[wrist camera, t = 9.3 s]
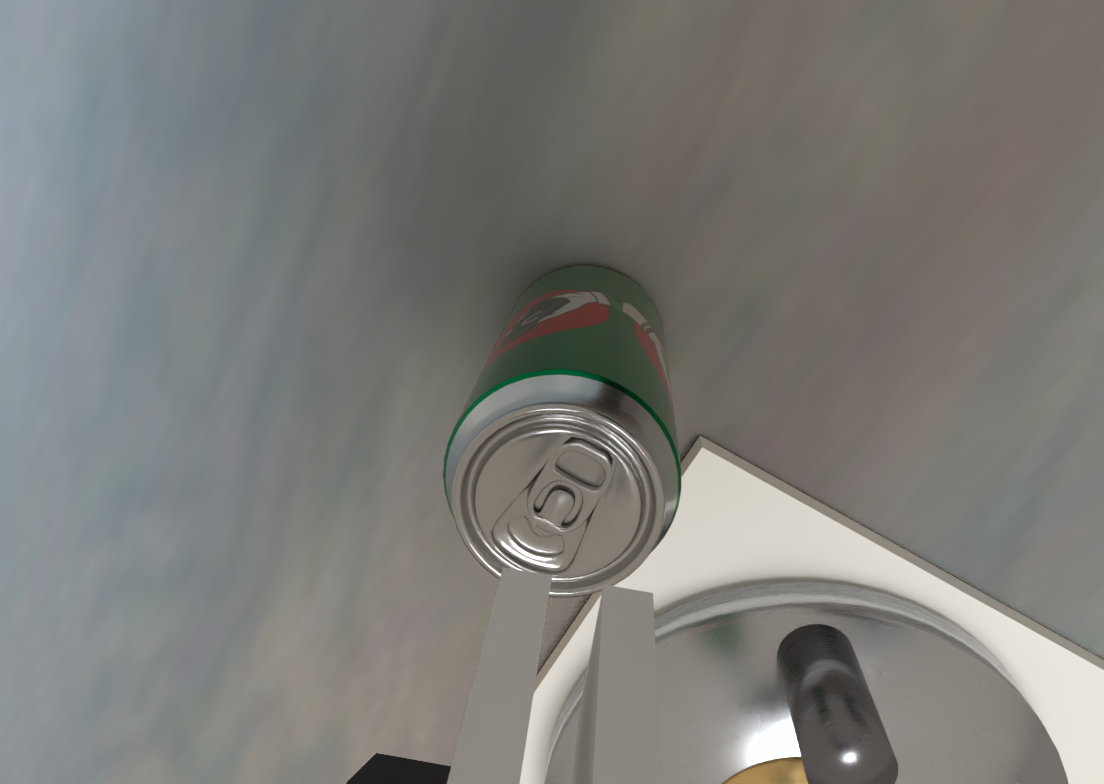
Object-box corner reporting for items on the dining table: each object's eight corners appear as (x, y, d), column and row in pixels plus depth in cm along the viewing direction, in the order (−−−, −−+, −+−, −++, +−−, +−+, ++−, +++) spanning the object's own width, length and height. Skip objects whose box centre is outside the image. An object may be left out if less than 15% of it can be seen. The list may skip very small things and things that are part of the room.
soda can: (482, 365, 30) (391, 544, 18) (554, 232, 28) (502, 340, 17) (614, 435, 30) (605, 652, 19) (693, 309, 28) (734, 465, 17)
